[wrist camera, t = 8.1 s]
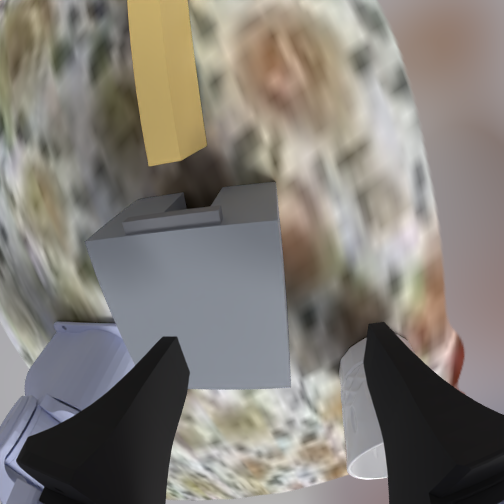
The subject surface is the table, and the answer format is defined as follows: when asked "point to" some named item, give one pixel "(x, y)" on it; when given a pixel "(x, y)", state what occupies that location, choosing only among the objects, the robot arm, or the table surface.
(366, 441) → the white cup
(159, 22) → the yellow rectangular block
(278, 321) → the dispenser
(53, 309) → the table surface
